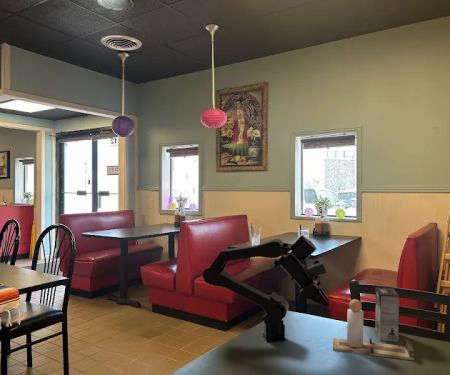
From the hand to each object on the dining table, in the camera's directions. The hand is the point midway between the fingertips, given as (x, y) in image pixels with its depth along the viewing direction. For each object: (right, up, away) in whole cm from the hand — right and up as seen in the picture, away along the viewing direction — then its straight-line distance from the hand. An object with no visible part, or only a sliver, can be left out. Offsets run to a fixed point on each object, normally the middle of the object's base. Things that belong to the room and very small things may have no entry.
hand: (328, 304), depth 129 cm
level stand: (+13, -14, -4) cm, 19 cm away
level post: (+8, -12, -2) cm, 15 cm away
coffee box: (+23, -14, +7) cm, 27 cm away
